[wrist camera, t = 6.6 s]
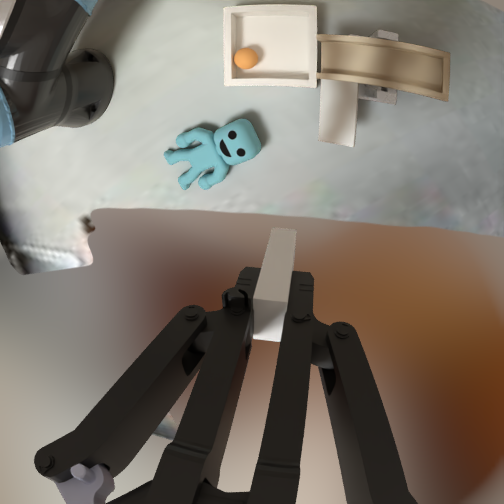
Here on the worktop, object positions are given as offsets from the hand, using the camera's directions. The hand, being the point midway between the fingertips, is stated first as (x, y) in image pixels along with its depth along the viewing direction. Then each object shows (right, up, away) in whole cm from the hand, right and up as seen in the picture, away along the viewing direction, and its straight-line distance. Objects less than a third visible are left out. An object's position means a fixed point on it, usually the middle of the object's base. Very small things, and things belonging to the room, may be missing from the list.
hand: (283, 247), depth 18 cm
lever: (+13, +17, +8) cm, 23 cm away
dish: (+1, +28, +14) cm, 31 cm away
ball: (-3, +25, +13) cm, 29 cm away
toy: (-8, +16, +24) cm, 30 cm away
